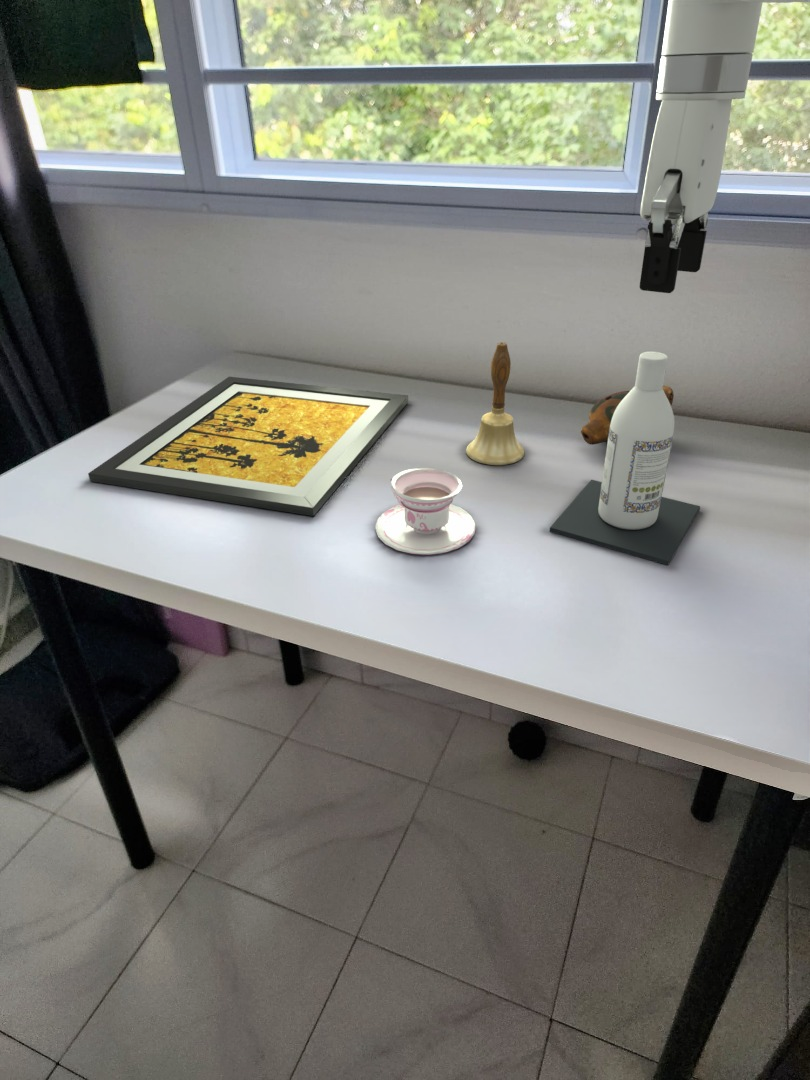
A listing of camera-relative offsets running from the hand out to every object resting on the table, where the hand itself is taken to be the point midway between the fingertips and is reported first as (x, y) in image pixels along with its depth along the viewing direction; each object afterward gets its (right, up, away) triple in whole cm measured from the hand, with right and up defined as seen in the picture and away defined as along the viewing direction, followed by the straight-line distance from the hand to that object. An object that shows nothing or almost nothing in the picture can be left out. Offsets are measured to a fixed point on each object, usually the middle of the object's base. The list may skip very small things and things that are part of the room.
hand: (670, 280), depth 75 cm
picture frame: (-48, -11, +37) cm, 62 cm away
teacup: (-24, -25, +15) cm, 38 cm away
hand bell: (-14, -14, +32) cm, 38 cm away
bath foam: (0, -23, +16) cm, 28 cm away
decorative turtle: (+5, -12, +34) cm, 36 cm away
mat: (0, -24, +16) cm, 29 cm away
